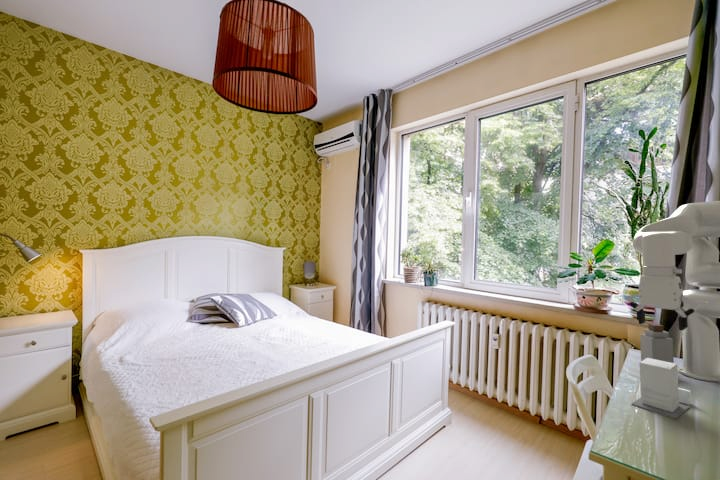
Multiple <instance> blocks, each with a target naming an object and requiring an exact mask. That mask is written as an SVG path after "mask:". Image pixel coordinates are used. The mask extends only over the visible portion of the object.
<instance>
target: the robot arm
mask: <svg viewBox="0 0 720 480" xmlns="http://www.w3.org/2000/svg"><path fill="white" fill-rule="evenodd" d="M707 238H720V200H713V201H700V202H691V203H686V204H682V205H680V206H679V207H678V208H676V209H675V211H674V212H673V213H672V214H670V216H669V217H667V218H664V219H661V220H657V221H655V222H651V223H649V224H646V225H644V226H642V227H641V228H640V229H639V230H637V232H636V234H635V235H634V237H633V239H632V246H633V249H634V250H635V251H636V252H637V253H638V254H641V255H642V272H643V273H642V275H640V278H639V283H638V292H636V293H633V294H629V295H627V296H626V297H625V299H626V300H627V302H628V303H629V306H631V308H632V309H634V310H635V311H636V320H637V321H638V324H639V325H643V324H645V323H646V312H645V310H644V309H645V308H654V309H662V310H670V311H675V312H676V313H677V314H678V315H679V316H678V317H677V318H678V330H679V331H681V337H682V338H681V339H682V365H679V366H677V370H678V372H679V373H680V374H682V375H684V376H687V377H690V378H691V379H692V378H694V379H696V380H700V381H708V382H715V383H716V382H720V330H719V328H718V326H717V325H716V324H715V322H713V321H712V319H711V318H715V319H716V318H717V319H720V291H717V290H708V289H709V288H710V289H711V288H712V289H720V262H719V259H720V251H719V248H718V247H717V246H716V245H715V244H713V243H712V241H710V240H708V239H707ZM685 254H686V261H685V281H686V283H687V284H689V285H690V286H693V287H698V288H708V289H707V290H706V289H705V290H704V289H694V288H693V289H685V290H684V289H683V284H682V280H681V277H680V276H677V274H683V270H682V268H677V266H676V255H685ZM635 298H636V299H637V300H638V303H637V302H636V301H635V300H634V299H635Z"/></svg>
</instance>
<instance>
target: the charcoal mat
mask: <svg viewBox="0 0 720 480" xmlns="http://www.w3.org/2000/svg"><path fill="white" fill-rule="evenodd" d="M631 405H632V406H634V407H636V408H640V409H643V410H647V411H649V412H652V413H655V414H658V415H662V416H663V417H667V418H671V419H673V420H677V418H679V417H680V416H682V414H684V413H685V412H686V411H687V410H689V409H690V405H687V404H684V403H681V402H679V406H678V407H677V408H676V409H675V410H674V411H673V412H670V411H666V410H663V409H660V408H656V407H653V406H650V405H646V404H643V403H642V401H641V397H639V398H638V399H637V400H635V401H633V402H631Z"/></svg>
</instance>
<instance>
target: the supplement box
mask: <svg viewBox="0 0 720 480" xmlns="http://www.w3.org/2000/svg"><path fill="white" fill-rule="evenodd" d="M638 365H639V377H640V379H639V382H640V383H641V388H640V398H641V401H642V403H643V404H646V405H650V406H653V407H656V408H660V409H663V410H666V411H670V412H673V411H674V410H675V409H676V408H677V407H678V406H679V403H680V402H679V391H678V387H679V376H678V375H679V374H678V372H679V371H678V364H677V363H675V362H674V363H670V362H665V361H661V360H656V359H651V358H646V359H644V360H643V361H641V360H640V361H639V363H638Z"/></svg>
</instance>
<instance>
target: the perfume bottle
mask: <svg viewBox="0 0 720 480" xmlns="http://www.w3.org/2000/svg"><path fill="white" fill-rule="evenodd" d="M647 326H648V328H643V331H644V333H640V334H639V337H640V340H639V341H640V362H641V361H643V360H644V359H646V358H651V359H656V360H661V361H665V362H670V363H675V362H674V339H673V338H671V337H669V334H670V332H668V331H666V330H664V325H662V324H659V323H647Z"/></svg>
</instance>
